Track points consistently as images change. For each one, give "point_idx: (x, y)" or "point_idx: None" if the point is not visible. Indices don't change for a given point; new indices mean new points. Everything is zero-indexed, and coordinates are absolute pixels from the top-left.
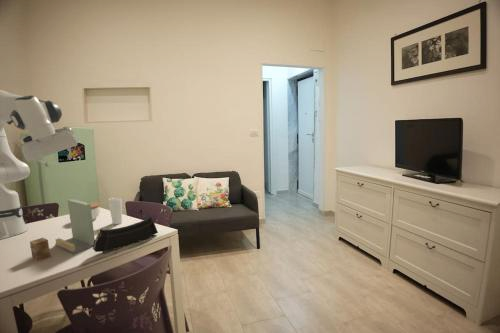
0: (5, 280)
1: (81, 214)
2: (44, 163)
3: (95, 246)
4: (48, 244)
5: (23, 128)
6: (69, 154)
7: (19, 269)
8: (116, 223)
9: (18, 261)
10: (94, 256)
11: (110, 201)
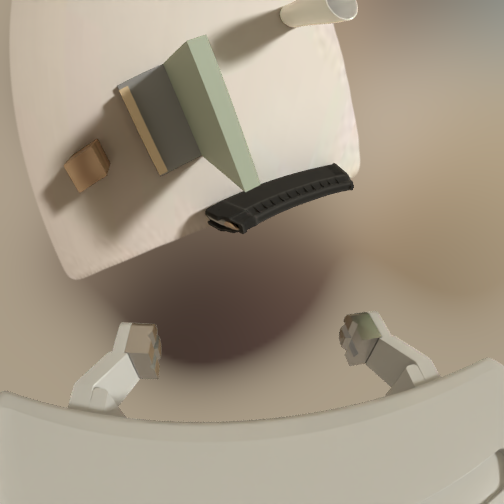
0: (55, 246)
1: (213, 140)
2: (137, 379)
3: (213, 226)
4: (107, 171)
5: None
6: (371, 364)
7: (61, 206)
8: (288, 25)
9: (47, 157)
10: (202, 214)
11: (324, 7)
